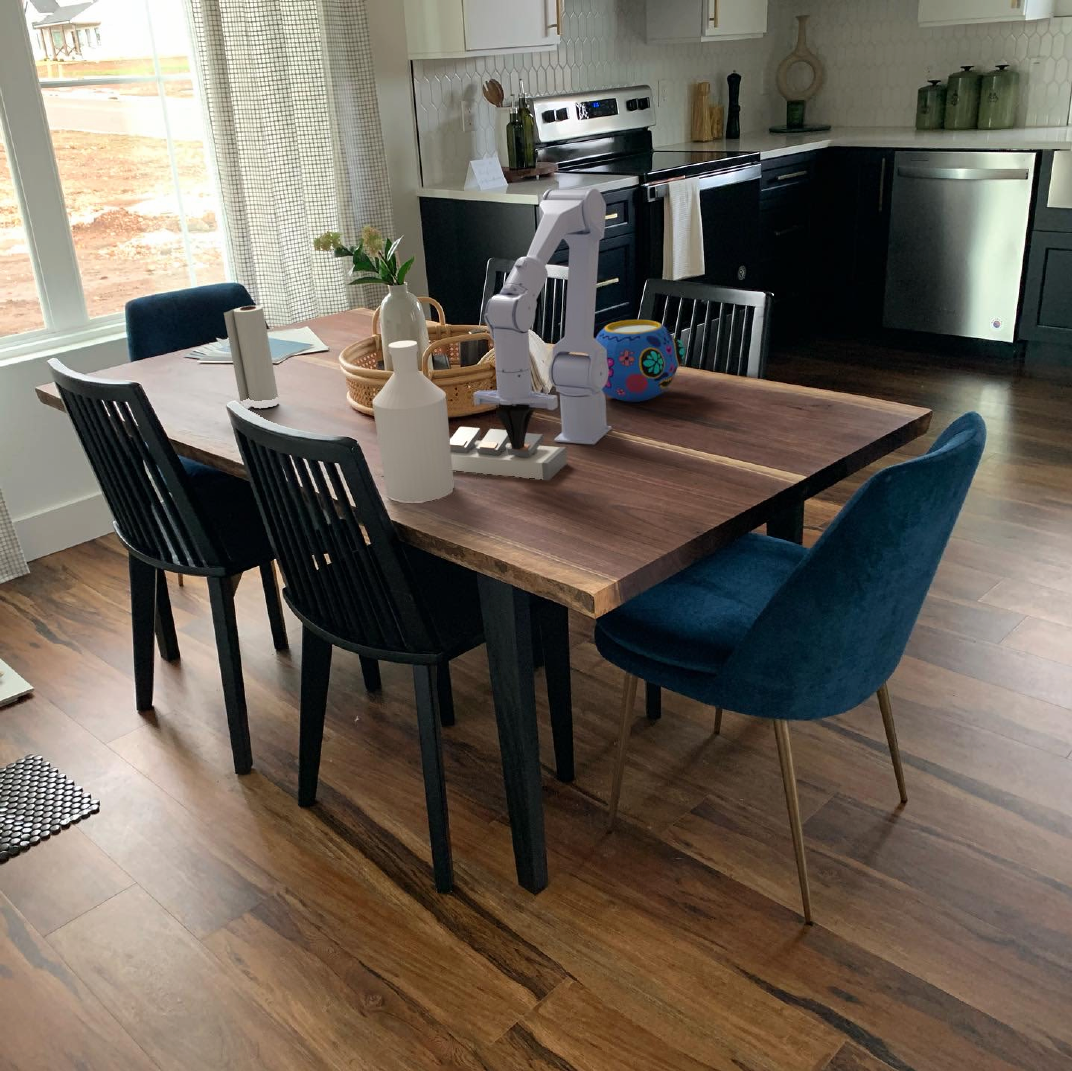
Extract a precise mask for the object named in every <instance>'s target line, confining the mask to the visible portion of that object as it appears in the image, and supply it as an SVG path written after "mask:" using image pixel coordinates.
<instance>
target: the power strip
mask: <svg viewBox="0 0 1072 1071" xmlns="http://www.w3.org/2000/svg"><path fill="white" fill-rule="evenodd" d="M449 438H450V439H451V438H452V437H449ZM481 441H482V440H477V441H476V442H475V443H474V445H473V446H472V447H471V449H470V450H469V452H468V453H462V452H451V461H452V470H458V471H464V472H463V473H466V472H476V473H475V474H477V473H483V474H482V475H487V474H492V475H491V476H498V475H509V476H515V477H514V478H519V477H522V478H521V479H529V478H535V479H534V480H540V479H542V480H541V481H550V480H551V479H552V478H553V477H554V476H555V475H556V474H558V472H560V471H561V470H562V469H563V468H564V467H565V466H567V464H568V461H567V458H568V457H567V447H566V446H550V445H549V446H547V445H539V447H538V448H537V449H536V450H535V452H534V453H533V454H532V455H531V456H530V457H524V456H513V455H509V454H508V448H509V447H510V446H511V443H510V442H508V443H507V444H506V446H505V447H504V449H503V450H502V451H501V453H500V454H499V456H496V455H485V454H478V453H477V449H476V448H477V447H478V445H479V444H480V442H481ZM560 469H561V470H560Z"/></svg>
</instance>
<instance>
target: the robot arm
mask: <svg viewBox="0 0 1072 1071" xmlns="http://www.w3.org/2000/svg"><path fill="white" fill-rule="evenodd" d="M538 211H539V212H538V213H539V220H540V221H539V224H538V226H537V229H536V231H535V234H534V237H533V238H532V242H531V244H530V247H529V249H528V251H527V253H526V256H521V257H519V258H517V259H516V261H515V263H514V265H513V267H512V269H511V270H510V273H509V275H508V276H507V279H506V280H505V282H504V284H503V287H502V288H501V290H500V292H499V293H497V294H495V295H493V296H492V297H490V298H489V299H488V301H487V303H486V307H485V310H484V311H485V314H483V316H484V322H485V325H486V327H487V328H488V330H489V338H490V340H491V341H492V342H493V349H494V362H495V376H496V388H497V390H477V391H475V392H474V393H473V404H474V405H479V406H480V405H496V406H498V409H496V411H495V412H496V413H495V414H496V416H497V418H498V420H500V422H501V424H502V426H503V428H504V430H506V432H507V434H508V437H509V443H511V446H512V449H521V448H522V447H524V443H525V436H526V433H528V432H527V431H528V427H529V424H530V421H531V418H532V416H533V414H534V411H535V410H536V408H540V409H547V410H549V411H553V410H555V409H557V408H558V406H559V402H558V395H554V394H553V395H552V394H547V393H542V392H537V391H533V388H532V370H531V354H530V352H531V351H530V338H529V330H531V328H532V327H533V325H534V323H535V319H536V309H537V306H538V305H537V304H538V302H537V299H538V298H539V295H540V292H541V291H542V289H543V287H544V285H545V283H546V281H547V278H548V275H549V274H548V273H549V272H548V270H547V267H546V265H547V264H548V262H549V261H550V259H551V258H552V256H553V254H554V253H555V251H556V250H557V248H558V246H559V245H560V244H561V242H562V240H564V241H565V242H566V244H567V245H568V247H569V253H568V268H567V269H568V271H567V287H566V288H567V289H566V304H565V305H566V306H565V307H566V309H565V310H566V311H565V324H564V325H565V328H564V337H562V338H561V339H560V340H558V342H557V343H555V344H554V345H553V346H552V352H551V358H550V361H549V363H548V368H547V369H548V370H547V373H548V374H547V375H548V378H549V381H550V383H551V385H552V386H553V387H555V392H556V393H557V392H558V393H559V400H560V419H561V421H560V422H561V433H559V435H557V436H556V437H555V438H554V440H553V441H554V442H557V443H569V444H570V443H571V444H581V445H582V444H583V445H596V443H598V442H599V441H600V440H601V439H602V438H604V436H605V435H606V434H608V432H610V430H612V426H611V425H607V405H606V404H607V403H606V402H607V401H606V395H605V392H603V391H602V389H603V387H604V386H605V384H606V382H607V379H608V373H609V370H608V364H607V350H606V349H605V348H604V347H603V346H602V345H601V344H600V343H599V342H598V341H597V340H596V337H594V332H595V318H596V317H595V313H596V300H597V299H596V296H597V283H598V267H599V266H598V264H599V253H600V252H599V249H600V248H599V247H600V241H601V240H602V239H604V238H605V229H606V228H605V227H606V212H607V203H606V202H605V199H604V197H603V196H602V194H601V192H600V190H598V189H597V188H590V189H555V188H549V189H547V190H546V191H545V192H544V194H543V195H542V197H541V200H540V203H539V204H538ZM572 353H574V354H572ZM575 353H577V354H575ZM578 353H579V354H578ZM584 354H585V355H584Z"/></svg>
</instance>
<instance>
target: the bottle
mask: <svg viewBox="0 0 1072 1071" xmlns="http://www.w3.org/2000/svg"><path fill="white" fill-rule="evenodd" d="M418 351H419V347H418V342H417V341H416V340H398V341H393V342H390V343H388V352H389V355H391V361H392V368H393V373H392V375H391V376H390V377H389V379H388V380H387V381H386V383H385V384H384V385H383V387H382V389H381V390H379V391H378V392H377V394H376V395H375V397H374V398H373V400H372V401H371V402H372V407H373V408H372V410H373V413H374V414H373V415H374V416H373V417H374V422H375V428H376V434H377V435H376V436H377V441H378V448H379V453H380V461H381V467H382V473H383V482H384V487H385V494H386V493H387V495H388V496H391V497H392V498H394V499H399V500H403V501H412V502H415V501H426V500H432V499H437V498H439V497H442V496H445V495H446V494H447V493H450V492H451V491H452V490H453V488H454V489H455V486H454V485H455V484H454V474H453V473H454V471H452V461H451V449H450V438H451V437H450V429H449V417H448V406H447V405H448V404H447V394H446V392H445V391H444V390H443V389H442V388H440V387H439V386H437V385H436V384H434V383H433V382H432V381H431V380H430V379H429V378H427V376H425V374H423V373H422V372H421V371H420V370H419V369H418V356H417V353H418ZM453 491H454V490H453ZM453 491H452V492H453ZM452 492H451V493H452ZM451 493H450V494H451ZM387 495H386V496H387Z"/></svg>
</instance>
